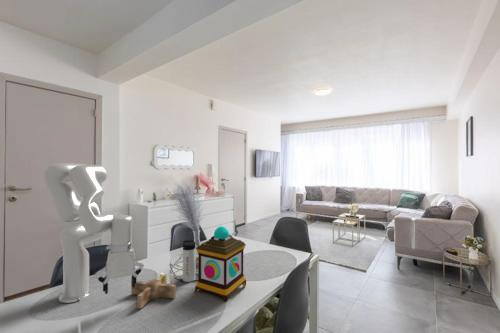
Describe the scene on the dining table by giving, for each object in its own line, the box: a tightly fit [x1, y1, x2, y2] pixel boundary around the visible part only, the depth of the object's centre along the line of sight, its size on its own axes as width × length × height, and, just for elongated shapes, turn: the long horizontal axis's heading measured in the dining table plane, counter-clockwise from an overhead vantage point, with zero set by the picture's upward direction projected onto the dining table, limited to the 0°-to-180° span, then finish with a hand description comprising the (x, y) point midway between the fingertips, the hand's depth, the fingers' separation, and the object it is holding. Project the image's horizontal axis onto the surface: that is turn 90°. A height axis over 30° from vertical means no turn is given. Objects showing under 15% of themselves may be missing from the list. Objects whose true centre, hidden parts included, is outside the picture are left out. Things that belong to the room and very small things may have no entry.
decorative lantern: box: [194, 225, 247, 302], centre depth 116 cm, size 20×20×30 cm
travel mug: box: [182, 239, 197, 283], centre depth 124 cm, size 6×7×20 cm
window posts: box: [159, 272, 175, 285], centre depth 119 cm, size 5×5×5 cm
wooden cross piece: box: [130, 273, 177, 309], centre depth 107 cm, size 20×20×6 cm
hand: (119, 289), depth 99 cm, fingers open, 9 cm apart
